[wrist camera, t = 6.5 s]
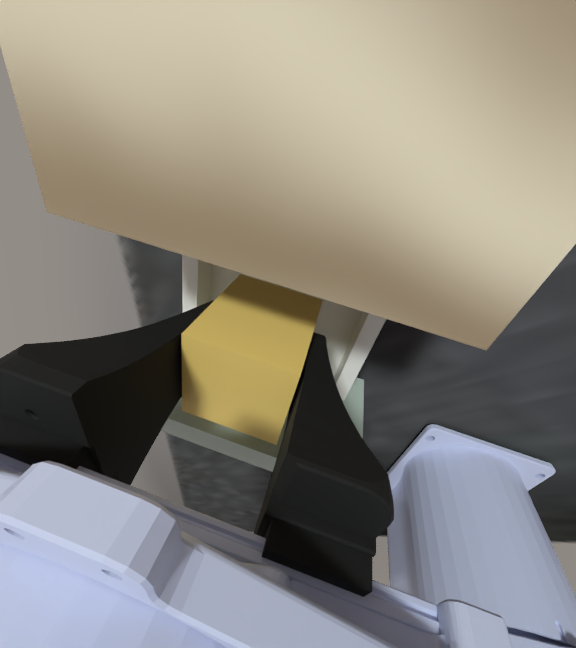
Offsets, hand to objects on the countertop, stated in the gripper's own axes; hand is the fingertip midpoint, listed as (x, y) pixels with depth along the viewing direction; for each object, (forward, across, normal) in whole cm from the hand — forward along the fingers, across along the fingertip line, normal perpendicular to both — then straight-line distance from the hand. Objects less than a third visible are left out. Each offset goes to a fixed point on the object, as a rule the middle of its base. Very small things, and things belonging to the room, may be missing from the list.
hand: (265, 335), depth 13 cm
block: (+2, 0, 0) cm, 2 cm away
